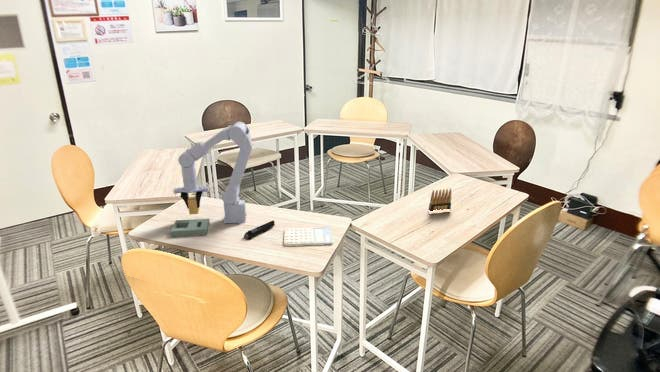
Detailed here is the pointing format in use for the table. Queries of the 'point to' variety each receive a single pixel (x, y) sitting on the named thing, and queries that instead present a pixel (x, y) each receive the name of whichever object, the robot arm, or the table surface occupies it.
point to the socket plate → (190, 227)
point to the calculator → (308, 236)
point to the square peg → (193, 205)
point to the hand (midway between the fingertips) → (193, 207)
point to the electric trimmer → (259, 230)
